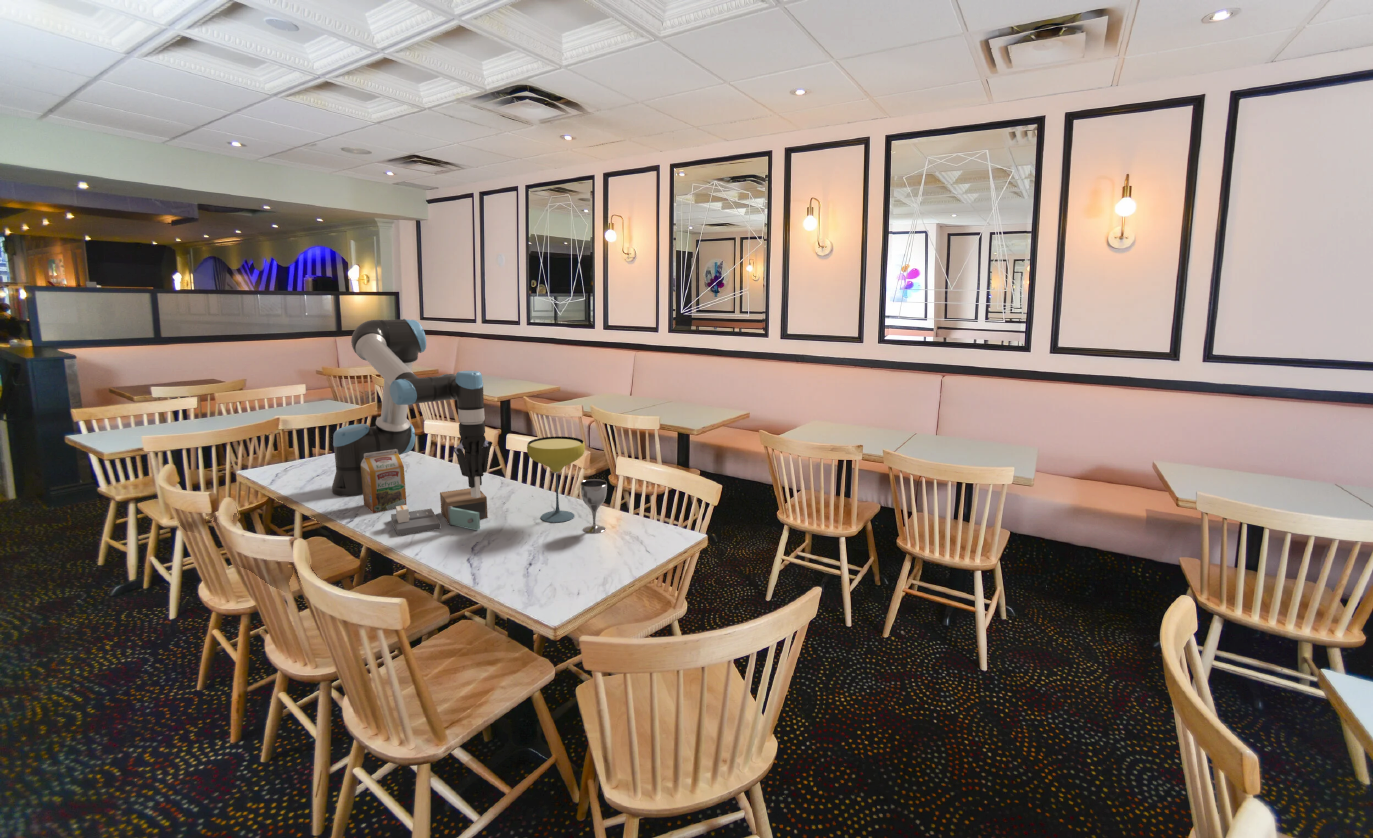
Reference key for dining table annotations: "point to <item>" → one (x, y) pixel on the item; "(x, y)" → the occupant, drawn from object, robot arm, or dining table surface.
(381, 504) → the milk carton
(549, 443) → the cocktail glass
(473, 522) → the rack door
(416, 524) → the mixer strip
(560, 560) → the dining table surface
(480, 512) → the box
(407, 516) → the fader knob
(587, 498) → the wine glass
